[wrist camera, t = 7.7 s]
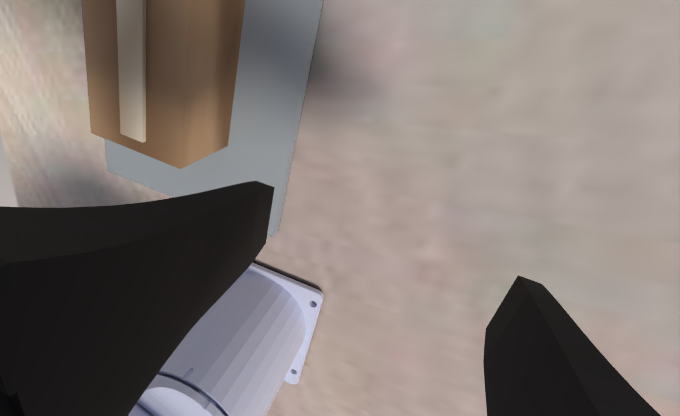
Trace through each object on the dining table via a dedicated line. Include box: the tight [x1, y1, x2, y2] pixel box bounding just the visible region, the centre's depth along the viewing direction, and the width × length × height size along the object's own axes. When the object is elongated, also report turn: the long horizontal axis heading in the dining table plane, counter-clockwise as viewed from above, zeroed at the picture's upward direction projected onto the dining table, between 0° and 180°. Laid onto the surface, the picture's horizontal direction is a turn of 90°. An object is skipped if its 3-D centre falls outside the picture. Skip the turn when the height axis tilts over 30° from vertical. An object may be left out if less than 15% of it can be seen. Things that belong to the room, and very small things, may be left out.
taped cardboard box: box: [82, 0, 246, 169], centre depth 17 cm, size 5×9×4 cm, turn 164°
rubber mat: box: [105, 0, 323, 237], centre depth 19 cm, size 18×12×1 cm, turn 165°
